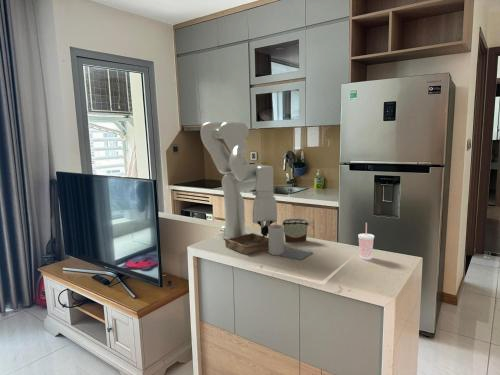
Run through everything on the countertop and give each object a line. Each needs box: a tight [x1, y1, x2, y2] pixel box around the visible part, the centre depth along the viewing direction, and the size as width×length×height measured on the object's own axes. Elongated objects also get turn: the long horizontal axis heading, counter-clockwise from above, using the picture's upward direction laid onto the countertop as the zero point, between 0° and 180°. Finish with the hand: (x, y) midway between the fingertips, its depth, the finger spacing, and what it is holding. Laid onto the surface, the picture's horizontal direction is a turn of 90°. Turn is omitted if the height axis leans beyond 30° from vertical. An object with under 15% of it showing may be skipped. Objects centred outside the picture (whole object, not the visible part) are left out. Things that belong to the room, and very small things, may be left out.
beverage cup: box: [357, 222, 375, 260], centre depth 140 cm, size 6×6×14 cm
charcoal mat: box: [279, 248, 313, 261], centre depth 147 cm, size 10×10×1 cm
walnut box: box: [224, 232, 269, 256], centre depth 158 cm, size 16×16×4 cm
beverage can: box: [268, 224, 285, 256], centre depth 148 cm, size 6×6×12 cm
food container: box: [281, 218, 310, 243], centre depth 166 cm, size 12×6×10 cm, turn 84°
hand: (264, 235), depth 156 cm, fingers closed
